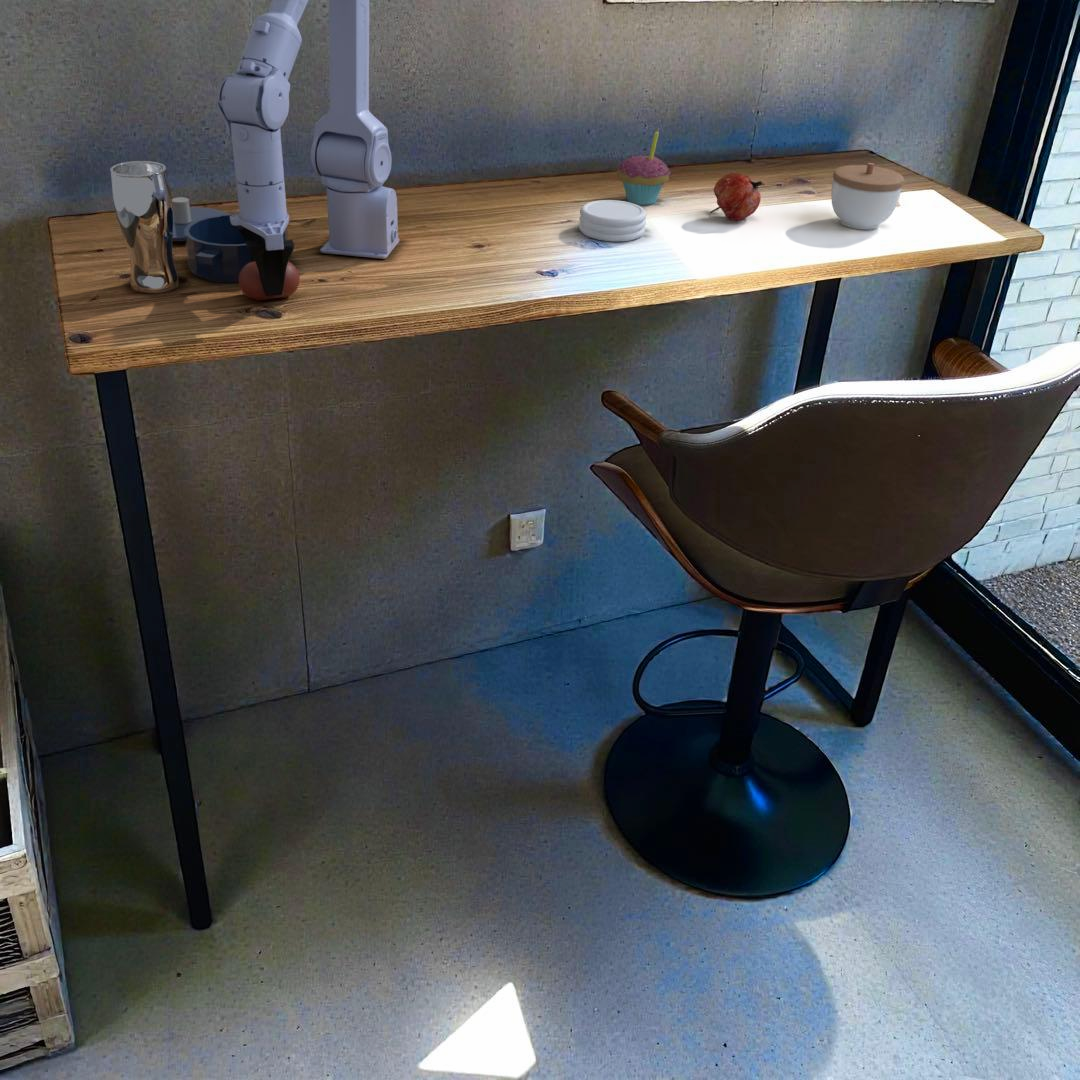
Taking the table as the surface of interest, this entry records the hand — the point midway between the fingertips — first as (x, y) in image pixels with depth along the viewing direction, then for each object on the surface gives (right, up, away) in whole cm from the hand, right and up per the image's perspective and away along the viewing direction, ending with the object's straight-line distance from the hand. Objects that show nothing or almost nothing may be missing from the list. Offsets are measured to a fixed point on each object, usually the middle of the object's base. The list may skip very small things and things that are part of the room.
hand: (269, 286), depth 148 cm
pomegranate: (+65, +19, +36) cm, 77 cm away
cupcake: (+51, +23, +42) cm, 70 cm away
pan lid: (-17, +14, +21) cm, 30 cm away
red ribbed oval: (0, -1, +1) cm, 1 cm away
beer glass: (-15, +1, +3) cm, 16 cm away
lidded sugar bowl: (+85, +18, +37) cm, 94 cm away
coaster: (+45, +14, +28) cm, 55 cm away
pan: (-6, +5, +10) cm, 13 cm away
